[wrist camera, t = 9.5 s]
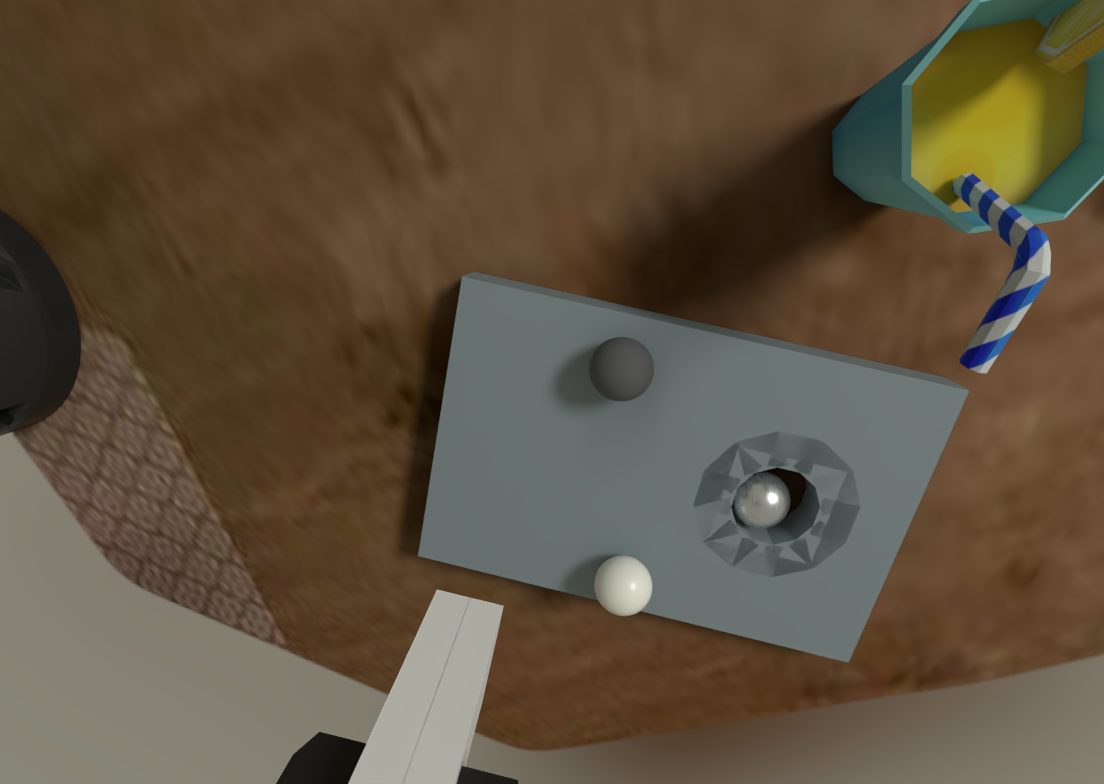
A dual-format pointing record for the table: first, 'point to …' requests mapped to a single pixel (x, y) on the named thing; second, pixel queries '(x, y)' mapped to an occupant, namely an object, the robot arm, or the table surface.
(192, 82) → the table surface
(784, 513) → the steel ball
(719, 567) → the plate
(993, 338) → the cup
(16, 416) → the robot arm
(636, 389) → the matte dark gray ball
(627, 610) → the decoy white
